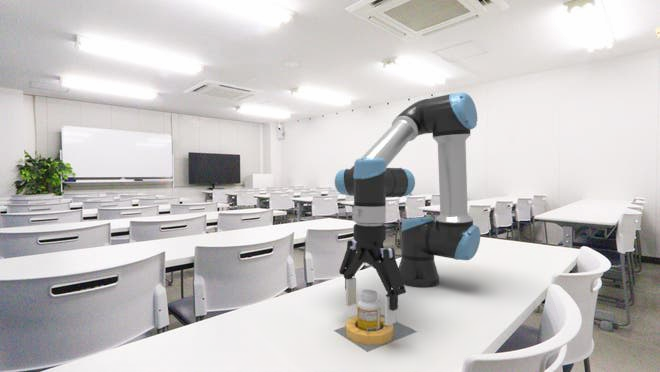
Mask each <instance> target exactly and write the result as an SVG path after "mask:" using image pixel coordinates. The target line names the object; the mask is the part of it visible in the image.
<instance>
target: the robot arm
mask: <svg viewBox="0 0 660 372" xmlns="http://www.w3.org/2000/svg"><path fill="white" fill-rule="evenodd" d="M477 122H478V111H477V107H476V104H475V101H474V100H473V98H472V97H471V96H470V95H469V94H468V93H466V92H456V93H449V94H444V95H441V96H435V97H430V98H424V99H421V100H418V101H417V102H414V103H413V104H411V105H409V106H408V107H407V108H406V109H404V110H403V111H401V112H400V113H399V114H398V115H397V116H396V117H395V118H394V119H393V121H392V122H391V126H390V128H388V130H387V131H386V132H385V133H383V135H382V136H381V137H380V138H379V139H377V141H376V142H374V144H373V145H372V146H371V147H370V148H369V149H368V150H367V151H366V152H365V154H363V156H362V157H360V158H359V157H358V158H357V159H355V161H354V163H353V166H352V167H351V168H344V169H340V170H339V171H337V173H336V174H335V177H334V186H335V189H336V191H337V192H338V193H339V194H341V195H343V196H344V195H345V196H350V197H352V196H353V222H354V223H355V224H354V225H353V239H351V240H348V241H347V243H346V245H347V246H346V249H345V250H346V251H345V253H344V255H343V259H342V261H341V265H340V268H339V271H338V272H339V274H340V275H343V278H344V279H345V280H344V288H345V305H346V306H347V307H349V306H353V305H356V304H357V278H356V274H357V272H358V271H359V269H360V268H361V266H362V265H363V264H364V263H365V264H368V265H370V266H371V267H372V268H373V269H375V271H376V273H377V275H378V277H379V279H380V282H381V283H382V285H383V288H385V291H386V294H384V316H385V325H387V326H388V325H390V324H393V323H396V322H397V310H398V308H399V296H400V295H403V294H406V292H407V290H406V286H410V287H416V288H430V287H429V286H431V287H434V286H438V285H439V284H438V283H440V275H439V273H438V270H437V266H436V262H435V257H436V256H437V257H442V258H447V259H448V258H449V259H452V260H456V261H457V260H458V261H459V260H460V261H470V260H472V259H473V258H474V257H475V255H476V254H477V252H478V249H479V246H480V244H481V243H480V242H481V230H480V227H479V226H478V225H476V224H474V218H473V217H472V216H471V215H469V213H468V186H467V185H468V183H467V182H468V181H467V180H468V179H467V178H468V174H467V145H466V144H467V143H466V140H467V139H468V138H470V136H471V130H473V129H474V128H476V127H477V125H478V123H477ZM425 134H426V135H427V134H432V139H433V140H435V142H436V143H437V156H438V157H437V158H438V159H437V160H438V162H437V163H438V183H439V185H438V187H439V215H438V216H437V217H436V218H435V217H432V216H428V217H427V216H425V217H415V218H414V217H413V218H405V219H403V221H402V222H401V228H400V229H401V230H400V235H401V238H400V239H401V245H400V246H401V251H400V252H401V259H400V262H399V266H398V263H397V260H396V254H395V253H396V252H395V248H394V247H390V248H385V247H384V242H385V241H386V239H387V237H386V235H387V234H386V233H387V231H386V230H387V229H386V227H387V226H386V225H385V223H386V222H387V220H386V219H387V217H386V216H387V212H386V211H387V209H386V208H387V207H386V205H387V202H386V200H387V198H402V197H406V196H409V195H410V194H411V193H413V192H414V189H415V185H416V178H415V176H414V174H413V173H412V171H410V170H409V169H407V168H402V167H388V166H389V164H391V163H392V161H393V160H394V158H395V157H396V156H397V155H398V154H399V153H400V152H401V151H402V150H403V149H404V148H405V146H406V145H407V143H408V142H412V141H414V140H415V139H416V138H417V137H418V136H421V135H425ZM437 284H438V285H437ZM405 285H406V286H405Z"/></svg>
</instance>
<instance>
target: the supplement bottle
mask: <svg viewBox="0 0 660 372" xmlns="http://www.w3.org/2000/svg"><path fill="white" fill-rule="evenodd" d="M378 294H379V293H378V291H377V290H374V289H363V290H361V291H360V299H359V300H358V301H357V316H358V329H360V330H363V331H368V332H369V331H378V330H380V315H381V302H380V301H379V300H378V298H379V295H378Z"/></svg>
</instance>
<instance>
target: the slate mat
mask: <svg viewBox="0 0 660 372" xmlns="http://www.w3.org/2000/svg"><path fill="white" fill-rule="evenodd" d="M380 317H383V318H385V314H380ZM392 325H393V326H394V335H393V337H392V339H391V341H389V342H386V343H384V344H381V345H365V344H361V343H356V342H354V341H352V340H351V339H349V338H348V337H347V335H346V332H345V326H343V327H340V328H337V329H334V332H335V333H337V334H339V335H340V336H342V337H343V338H345V339H347V341H349V342H351V343H353V344H354V345H356V346H357V347H359V348H361V349H362V350H364V352H367V353H368V352H371V351H372V350H373V351H374V350H376V349H378V348H381V347H383V346H385V345H386V346H387V344H390V343H393V342H395V341H397V340H401V339H403V338H405V337H407V336H410V335H412V334H414V333H415V334H416V333H417V332H418V331H417V330H415V329H413V328H411V327H409V326H406V324H403V323H400V322H398V321H396V323H393V324H392Z"/></svg>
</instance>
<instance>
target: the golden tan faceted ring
mask: <svg viewBox="0 0 660 372" xmlns="http://www.w3.org/2000/svg"><path fill="white" fill-rule="evenodd" d="M344 324H345V325H344V327H345V332H346V335H347V337H348V338H349V339H351V340H352V341H354V342H356V343H361V344H365V345H381V344H384V343H386V342H389V341H391V339H392V337H393V335H394V326H393V325H392V324H390V325H388V326H387V325H385V318H383V317H380V330H378V331H369V332H368V331H363V330H360V329H358V315H355V316H353V317H350V318H348V319H347V321H346V322H345V323H344Z"/></svg>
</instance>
